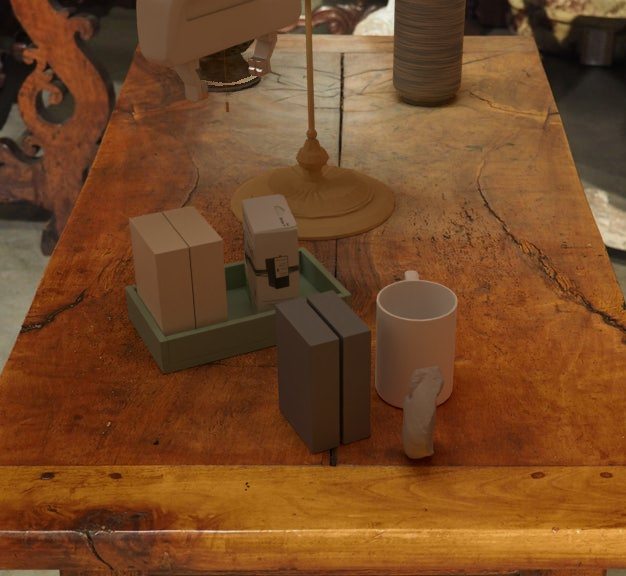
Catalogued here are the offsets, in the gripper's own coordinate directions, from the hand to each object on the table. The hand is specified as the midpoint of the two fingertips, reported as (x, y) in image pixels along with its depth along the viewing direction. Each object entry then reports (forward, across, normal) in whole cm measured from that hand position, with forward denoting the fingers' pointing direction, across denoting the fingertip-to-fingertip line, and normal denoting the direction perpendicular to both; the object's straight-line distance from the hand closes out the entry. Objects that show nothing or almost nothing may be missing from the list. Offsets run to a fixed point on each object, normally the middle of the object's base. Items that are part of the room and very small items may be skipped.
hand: (229, 86), depth 109 cm
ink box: (+25, -1, +4) cm, 26 cm away
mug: (+26, 0, +23) cm, 35 cm away
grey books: (+26, +12, +21) cm, 35 cm away
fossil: (+26, +11, +31) cm, 42 cm away
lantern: (+26, -57, -55) cm, 84 cm away
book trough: (+26, +2, +2) cm, 26 cm away
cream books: (+25, +8, -1) cm, 26 cm away
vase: (+26, -71, -21) cm, 79 cm away
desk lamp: (+26, -26, -10) cm, 39 cm away
